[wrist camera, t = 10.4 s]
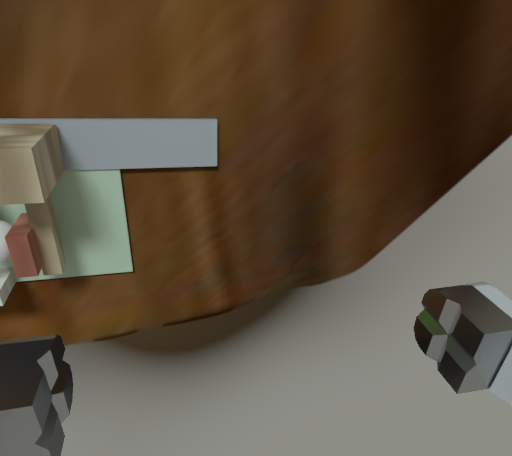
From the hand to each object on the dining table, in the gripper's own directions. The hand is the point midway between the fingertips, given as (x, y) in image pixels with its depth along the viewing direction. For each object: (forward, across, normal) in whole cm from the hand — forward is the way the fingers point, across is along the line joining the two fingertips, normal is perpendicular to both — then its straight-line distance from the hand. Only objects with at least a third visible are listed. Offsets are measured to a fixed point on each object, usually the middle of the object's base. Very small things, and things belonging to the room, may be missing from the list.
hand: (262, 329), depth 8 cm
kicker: (+28, +13, +9) cm, 32 cm away
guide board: (+29, +6, +4) cm, 30 cm away
